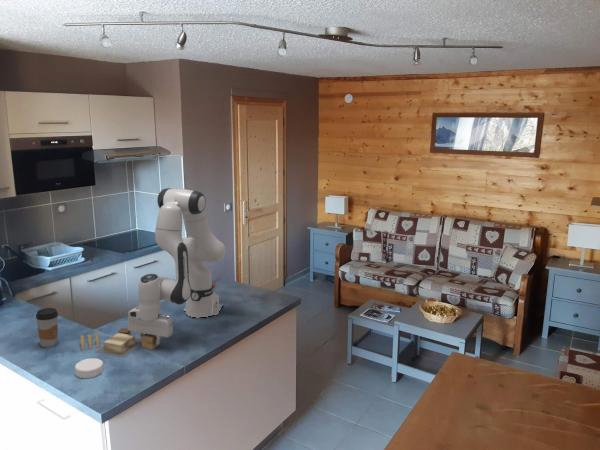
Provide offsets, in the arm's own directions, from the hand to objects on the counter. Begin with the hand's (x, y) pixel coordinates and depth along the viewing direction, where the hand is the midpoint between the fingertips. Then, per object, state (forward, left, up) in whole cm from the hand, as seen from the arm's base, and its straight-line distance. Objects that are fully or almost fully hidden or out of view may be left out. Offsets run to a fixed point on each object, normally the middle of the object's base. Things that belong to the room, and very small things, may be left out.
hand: (150, 342), depth 209 cm
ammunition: (+8, -24, -2) cm, 25 cm away
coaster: (+26, -10, -3) cm, 28 cm away
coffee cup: (+13, -41, -2) cm, 43 cm away
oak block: (0, 0, -2) cm, 2 cm away
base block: (+6, -11, -2) cm, 13 cm away
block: (-2, -14, -2) cm, 15 cm away
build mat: (+4, -11, -2) cm, 12 cm away
